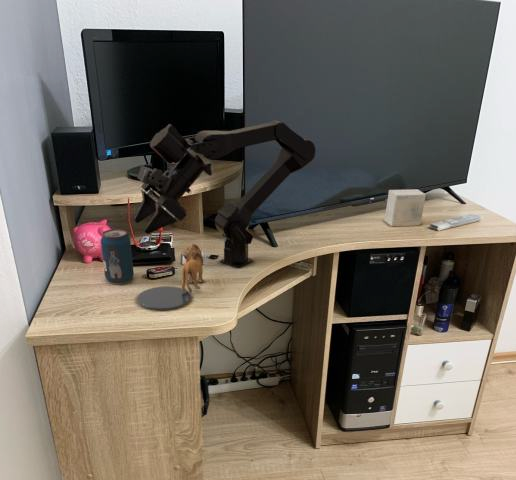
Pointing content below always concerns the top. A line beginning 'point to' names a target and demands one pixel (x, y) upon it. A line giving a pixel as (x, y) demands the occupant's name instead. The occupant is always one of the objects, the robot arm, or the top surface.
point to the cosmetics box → (404, 207)
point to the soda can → (117, 256)
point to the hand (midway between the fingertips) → (140, 227)
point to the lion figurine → (192, 267)
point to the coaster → (163, 298)
